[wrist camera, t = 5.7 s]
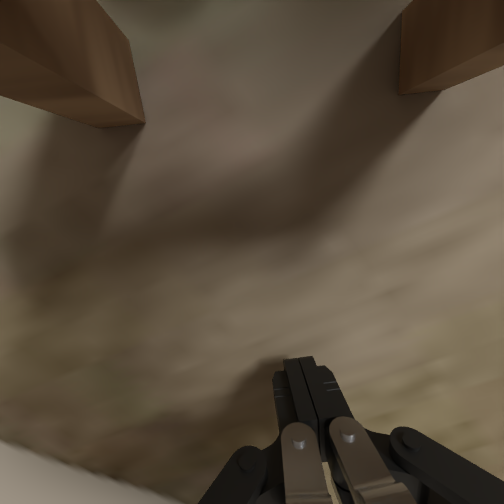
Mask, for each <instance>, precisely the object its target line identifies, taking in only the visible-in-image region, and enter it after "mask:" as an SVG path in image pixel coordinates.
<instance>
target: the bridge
mask: <svg viewBox="0 0 504 504" xmlns="http://www.w3.org/2000/svg"><path fill="white" fill-rule="evenodd" d="M503 65H504V0H413V1H412V2H411V3H410V4H409V5H408V6H407V7H406V8H405V9H404V10H403V11H402V27H401V50H400V72H399V95H403V94H412V93H421V92H430V91H439V90H445V89H447V88H450V87H452V86H455V85H457V84H459V83H462V82H464V81H467V80H469V79H471V78H474V77H476V76H479V75H481V74H484V73H486V72H488V71H491V70H493V69H496V68H498V67H501V66H503ZM0 96H3V97H6V98H9V99H12V100H15V101H18V102H21V103H24V104H28V105H31V106H34V107H37V108H40V109H43V110H46V111H49V112H52V113H55V114H58V115H61V116H64V117H67V118H70V119H73V120H76V121H79V122H82V123H85V124H88V125H91V126H94V127H97V128H106V127H115V126H124V125H133V124H142V123H146V122H145V117H144V112H143V107H142V102H141V97H140V93H139V88H138V83H137V78H136V73H135V68H134V63H133V58H132V54H131V49H130V44H129V40H128V39H127V38H126V36H125V35H124V34H123V33H122V31H121V30H120V29H119V28H118V27H117V25H116V24H115V23H114V22H113V20H112V19H111V18H110V17H109V16H108V14H107V13H106V12H105V11H104V9H103V8H102V7H101V6H100V5H99V3H98V2H97V1H96V0H0Z"/></svg>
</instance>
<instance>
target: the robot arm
mask: <svg viewBox="0 0 504 504" xmlns="http://www.w3.org/2000/svg"><path fill="white" fill-rule="evenodd" d="M283 363H284V371H277V372H275V374H274V377H273V379H272V382H273V391H274V400H275V408H276V414H277V420H278V427H279V436H278V438H277V439H276V441H275V442H274V443H273V444H272V445H270V446H269V447H267V448H265V449H263V450H260V449H258V448H257V447H254V446H244V447H242V448H240V449H238V450H237V451H236V452H235V453H234V454H233V455H232V457H231V458H230V459H229V461H228V462H227V464H226V465H225V466H224V468H223V469H222V471H221V472H220V473H219V475H218V476H217V478H216V479H215V480H214V482H213V483H212V485H211V486H210V487H209V489H208V490H207V492H206V493H205V494H204V496H203V497H202V499H201V500H200V501H199V503H198V504H333V502H332V498H331V495H329V493H328V489H327V484H326V480H325V475H324V470H323V466H322V462H328V465H329V468H330V471H331V483H332V486H333V489H334V491H335V494H336V497H337V500H338V502H339V504H504V481H502V480H500V479H499V478H497V477H495V476H494V475H492V474H490V473H489V472H487V471H485V470H483V469H482V468H480V467H478V466H477V465H475V464H473V463H471V462H470V461H468V460H466V459H465V458H463V457H461V456H460V455H458V454H456V453H454V452H453V451H451V450H449V449H448V448H446V447H444V446H442V445H441V444H439V443H437V442H436V441H434V440H432V439H431V438H429V437H427V436H425V435H424V434H422V433H420V432H419V431H417V430H415V429H412V428H409V427H397V428H395V429H393V430H392V432H391V434H390V435H387V434H381V433H376V432H372V431H369V430H367V429H365V428H364V427H363V426H362V425H361V424H360V423H359V422H358V421H356V420H355V419H354V417H353V415H352V413H351V411H350V409H349V407H348V404H347V402H346V400H345V398H344V396H343V394H342V392H341V390H340V387H339V385H338V383H337V382H336V379H335V377H334V375H333V373H332V372H331V371H330V370H329V369H328V368H327V367H326V366H325V365H324V366H317V365H316V363H315V361H314V358H313V356H308V357H300V358H293V359H285V360H283Z"/></svg>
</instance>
